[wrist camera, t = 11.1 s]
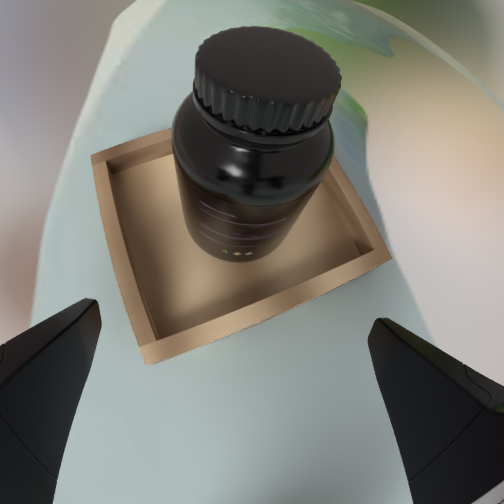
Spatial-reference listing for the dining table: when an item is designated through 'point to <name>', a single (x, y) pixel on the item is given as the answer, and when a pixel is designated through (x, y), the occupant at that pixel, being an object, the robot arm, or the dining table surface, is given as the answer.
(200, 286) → the oak tray
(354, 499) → the dining table surface
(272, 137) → the supplement bottle
